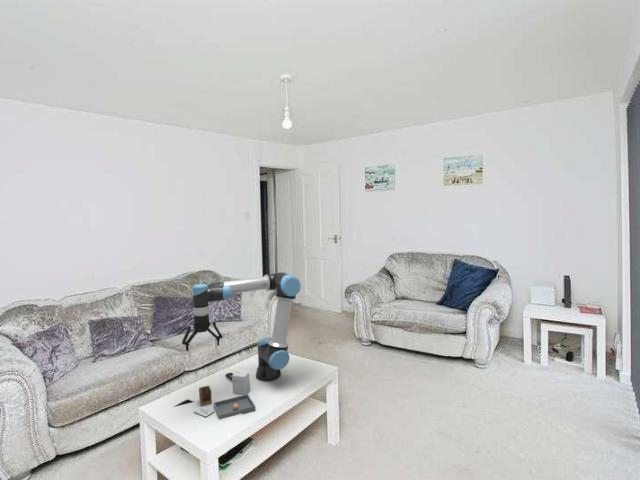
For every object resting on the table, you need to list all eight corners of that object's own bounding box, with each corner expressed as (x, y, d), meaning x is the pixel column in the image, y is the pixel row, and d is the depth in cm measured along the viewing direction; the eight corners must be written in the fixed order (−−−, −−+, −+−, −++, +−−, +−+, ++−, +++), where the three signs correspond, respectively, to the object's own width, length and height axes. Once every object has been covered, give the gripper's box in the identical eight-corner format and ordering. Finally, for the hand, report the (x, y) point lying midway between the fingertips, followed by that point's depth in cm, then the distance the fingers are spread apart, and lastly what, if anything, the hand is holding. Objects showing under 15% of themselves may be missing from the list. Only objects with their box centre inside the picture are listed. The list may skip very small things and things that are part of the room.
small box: (250, 390, 206) (249, 372, 205) (245, 395, 200) (244, 376, 200) (237, 389, 208) (236, 371, 207) (232, 393, 202) (231, 375, 202)
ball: (240, 409, 184) (238, 405, 187) (238, 404, 183) (237, 401, 186) (234, 412, 183) (233, 408, 186) (232, 407, 182) (231, 404, 185)
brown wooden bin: (209, 399, 196) (208, 385, 196) (211, 405, 191) (211, 390, 190) (199, 402, 194) (198, 387, 193) (201, 407, 188) (200, 392, 188)
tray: (247, 398, 197) (247, 394, 196) (255, 410, 184) (255, 405, 184) (213, 407, 188) (213, 402, 188) (219, 420, 176) (219, 415, 176)
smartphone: (196, 403, 193) (196, 402, 193) (169, 419, 179) (169, 417, 179) (187, 400, 197) (187, 398, 197) (160, 415, 183) (159, 413, 183)
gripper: (223, 309, 198) (225, 347, 200) (174, 316, 187) (177, 356, 188) (227, 312, 191) (228, 351, 193) (176, 319, 180) (178, 361, 182)
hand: (203, 354), depth 191 cm, fingers open, 13 cm apart
